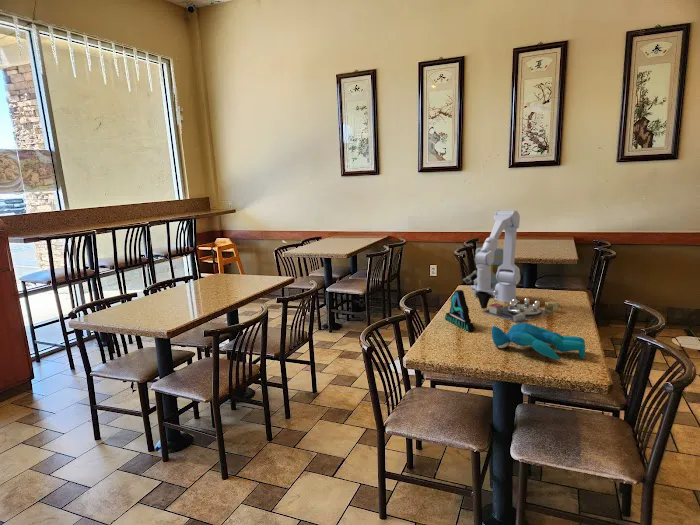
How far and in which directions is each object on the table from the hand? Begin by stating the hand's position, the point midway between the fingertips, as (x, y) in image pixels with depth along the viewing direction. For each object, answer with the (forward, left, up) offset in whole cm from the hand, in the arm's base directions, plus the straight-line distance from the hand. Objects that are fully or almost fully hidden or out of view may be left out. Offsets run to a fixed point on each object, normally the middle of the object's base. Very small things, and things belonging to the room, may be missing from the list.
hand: (483, 308), depth 205 cm
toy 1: (-19, +23, -2) cm, 29 cm away
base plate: (+11, +9, -2) cm, 14 cm away
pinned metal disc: (+12, +13, -2) cm, 17 cm away
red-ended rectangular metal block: (+7, 0, -1) cm, 7 cm away
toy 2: (+44, -20, -2) cm, 48 cm away
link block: (+17, +24, -2) cm, 29 cm away
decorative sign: (+7, -21, -2) cm, 23 cm away
